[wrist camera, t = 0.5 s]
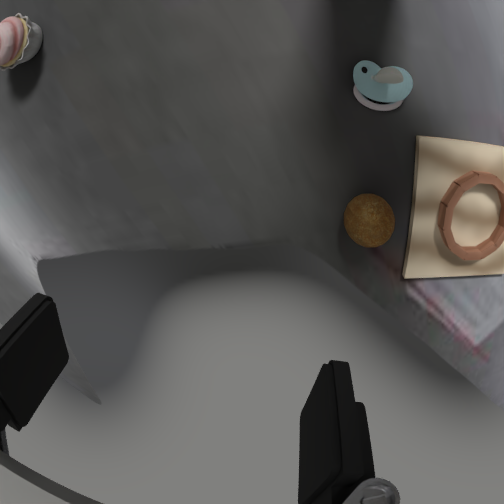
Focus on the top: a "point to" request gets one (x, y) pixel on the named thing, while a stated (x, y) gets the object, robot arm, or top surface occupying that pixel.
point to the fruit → (369, 220)
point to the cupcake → (18, 41)
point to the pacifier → (381, 85)
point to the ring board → (456, 209)
